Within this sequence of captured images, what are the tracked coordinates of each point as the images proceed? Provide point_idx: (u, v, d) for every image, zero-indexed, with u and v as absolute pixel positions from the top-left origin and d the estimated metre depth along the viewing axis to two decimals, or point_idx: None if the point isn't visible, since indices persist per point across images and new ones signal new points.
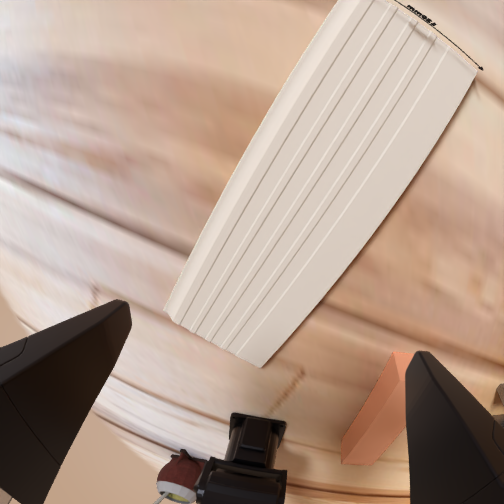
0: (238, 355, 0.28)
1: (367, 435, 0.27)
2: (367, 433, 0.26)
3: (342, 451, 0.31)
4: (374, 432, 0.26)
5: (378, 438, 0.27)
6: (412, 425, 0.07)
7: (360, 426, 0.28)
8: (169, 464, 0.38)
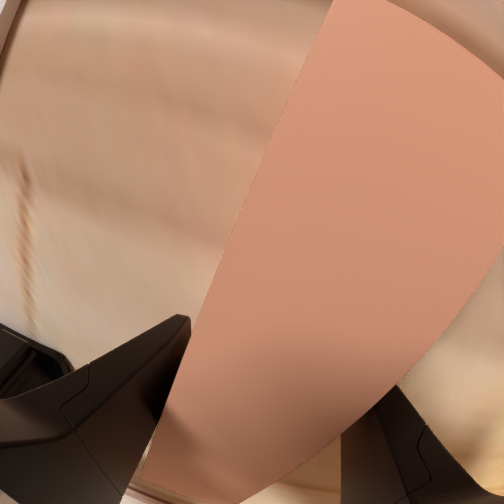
0: None
1: (181, 414, 0.07)
2: (181, 405, 0.07)
3: None
4: (209, 407, 0.06)
5: (232, 442, 0.07)
6: None
7: None
8: None
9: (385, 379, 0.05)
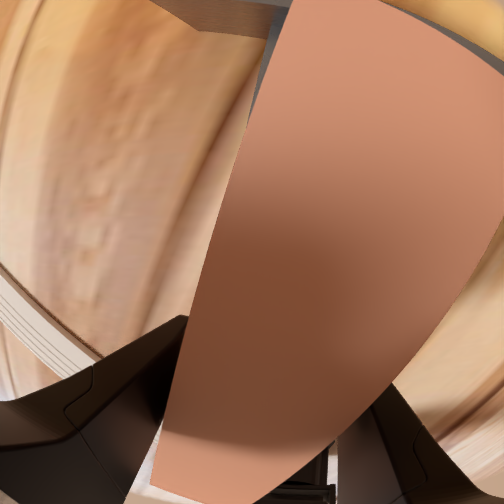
0: None
1: (182, 418, 0.07)
2: (181, 409, 0.07)
3: None
4: (208, 411, 0.06)
5: (234, 444, 0.07)
6: None
7: None
8: None
9: (381, 376, 0.05)
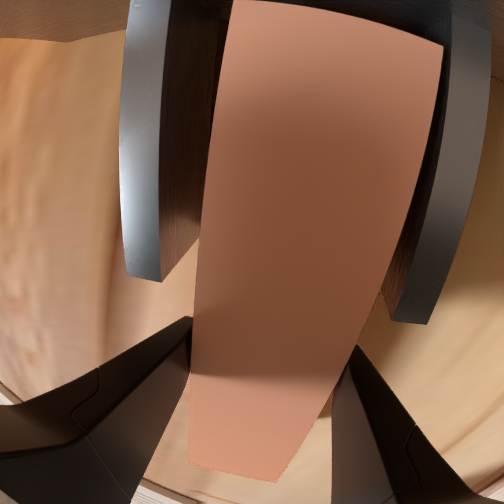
0: None
1: (206, 369, 0.08)
2: (204, 359, 0.08)
3: None
4: (226, 355, 0.08)
5: (255, 391, 0.08)
6: (335, 422, 0.07)
7: None
8: None
9: (364, 295, 0.07)
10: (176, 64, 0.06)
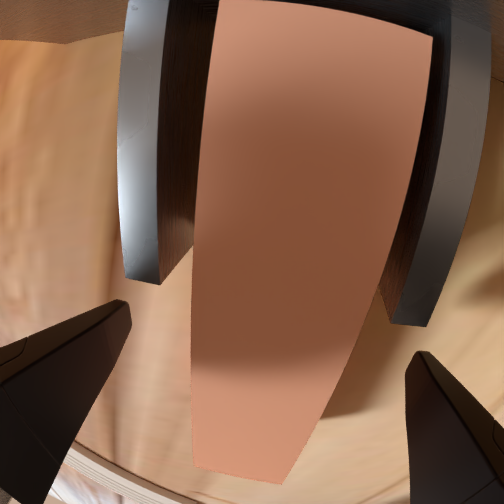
0: None
1: (205, 372, 0.08)
2: (203, 362, 0.08)
3: None
4: (225, 357, 0.08)
5: (256, 392, 0.08)
6: (412, 425, 0.07)
7: None
8: None
9: (362, 292, 0.06)
10: (174, 66, 0.06)
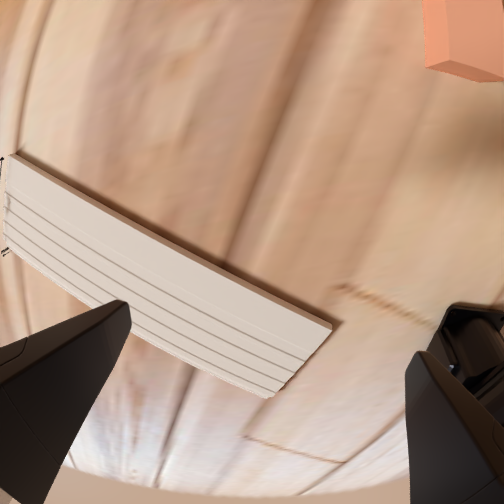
0: (311, 350, 0.23)
1: None
2: None
3: (437, 53, 0.12)
4: None
5: None
6: (412, 425, 0.07)
7: None
8: None
9: None
10: None
